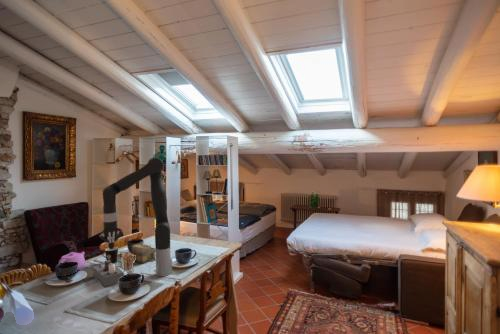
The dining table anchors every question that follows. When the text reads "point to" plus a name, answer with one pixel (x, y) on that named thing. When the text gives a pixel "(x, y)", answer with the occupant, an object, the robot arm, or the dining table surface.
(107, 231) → the robot arm
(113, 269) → the knob
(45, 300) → the dining table surface
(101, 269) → the console
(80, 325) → the dining table surface
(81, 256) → the teapot
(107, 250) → the coffee mug
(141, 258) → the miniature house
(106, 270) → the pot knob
